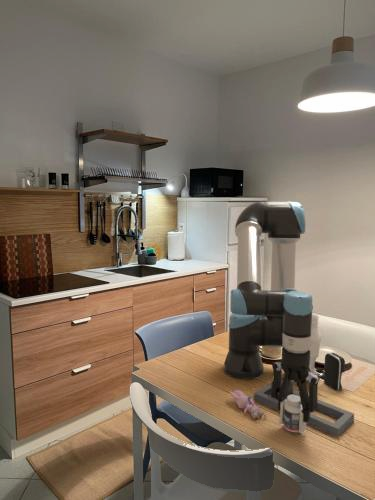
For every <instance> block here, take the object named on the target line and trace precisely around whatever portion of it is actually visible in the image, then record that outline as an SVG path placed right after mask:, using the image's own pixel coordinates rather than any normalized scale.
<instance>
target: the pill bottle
mask: <svg viewBox="0 0 375 500" xmlns="http://www.w3.org/2000/svg"><path fill="white" fill-rule="evenodd" d="M301 409H302V405H301V399H300V396H298V395H288V396H287V403H285V405H284V423H283V428H284V429H285V430H287V431H288V432H292V433H299V418H300V410H301Z"/></svg>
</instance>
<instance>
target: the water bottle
mask: <svg viewBox="0 0 375 500" xmlns="http://www.w3.org/2000/svg"><path fill="white" fill-rule="evenodd" d="M319 317H320V316H318V315H317V314H314V313H312V324H311V348H310V349H309V350H310V364H309V368H310V371H311V373H312V374H314V375H315V376H316V373H317V372H316V369H315V363H316V360H317V359H318V357H319V356H320V355H319V354H320V347H321V342H322V335H321V332H320V329H319V327H318V325H319V323H320V322H319ZM306 380H307V382H309V377H307V378H306Z"/></svg>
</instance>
